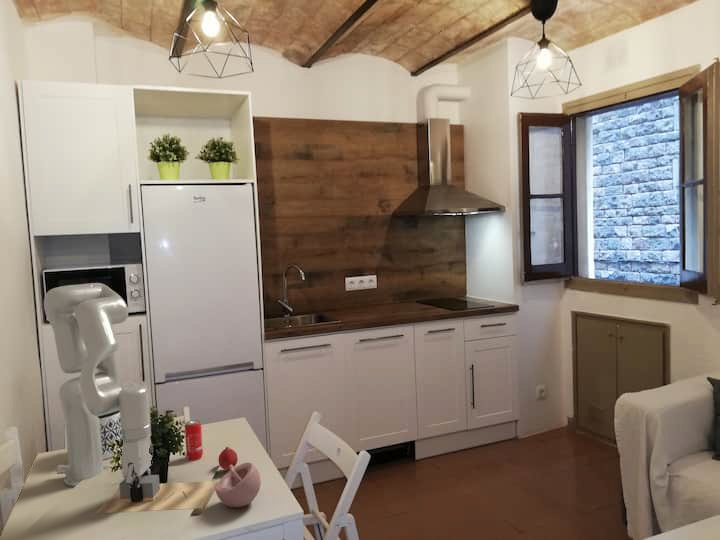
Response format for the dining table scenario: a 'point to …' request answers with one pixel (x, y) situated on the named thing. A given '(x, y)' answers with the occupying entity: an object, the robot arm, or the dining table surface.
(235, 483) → the mortar and pestle
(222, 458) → the pomegranate
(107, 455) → the planter
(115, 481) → the dining table surface
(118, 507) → the oak board
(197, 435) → the beverage can
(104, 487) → the dining table surface
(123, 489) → the block
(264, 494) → the dining table surface
